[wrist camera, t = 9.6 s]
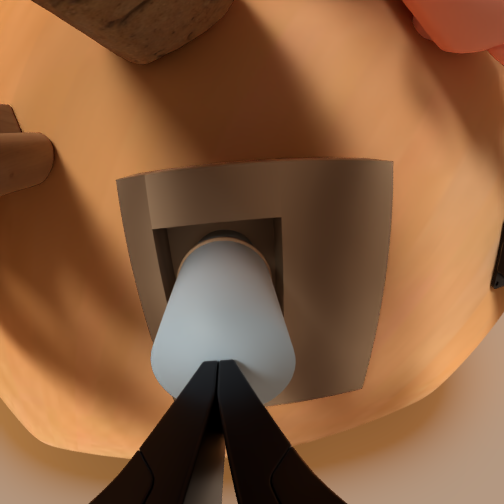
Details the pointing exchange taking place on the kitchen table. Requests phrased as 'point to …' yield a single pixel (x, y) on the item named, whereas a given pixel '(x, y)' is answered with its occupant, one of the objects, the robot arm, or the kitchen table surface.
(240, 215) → the board
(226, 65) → the kitchen table surface
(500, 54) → the teapot
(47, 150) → the wooden toy
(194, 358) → the peg
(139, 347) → the kitchen table surface
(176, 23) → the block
